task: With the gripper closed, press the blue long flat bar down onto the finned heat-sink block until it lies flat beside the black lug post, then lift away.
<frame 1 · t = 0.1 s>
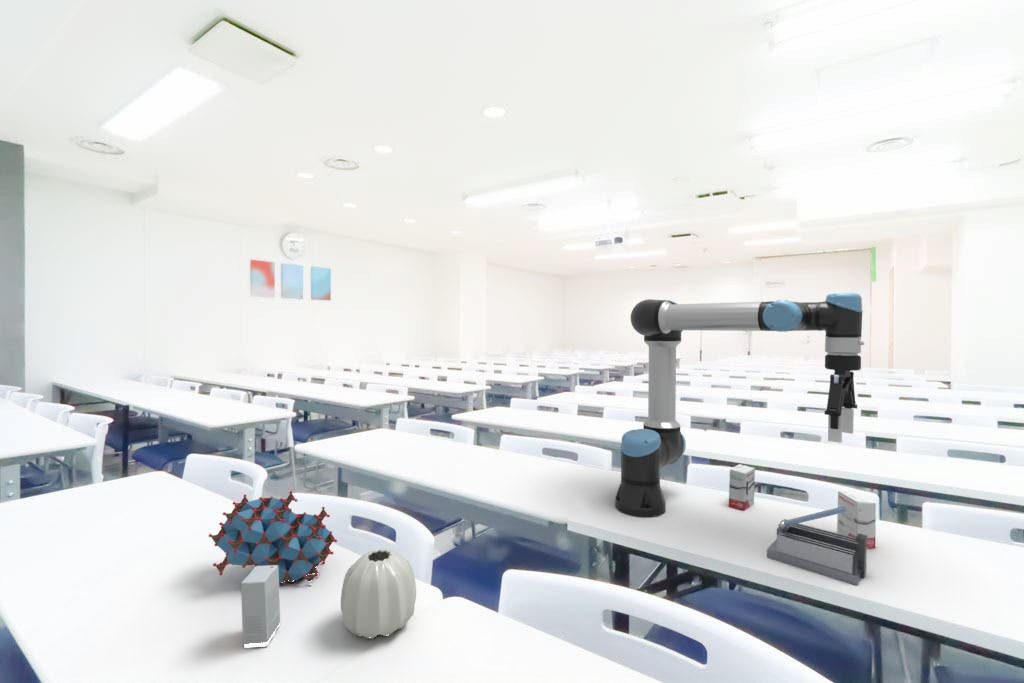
hand: (840, 437, 121), 28 cm above the table, fingers open, 13 cm apart
skincare box: (262, 638, 86), on the table
vase: (380, 625, 90), on the table
ink box 2: (741, 505, 149), on the table
ink box: (855, 541, 124), on the table
heatsink: (815, 561, 113), on the table
blue long flat bar: (811, 517, 114), point 10 cm above the table, hinge at 30.0°
molecule model: (276, 575, 108), on the table
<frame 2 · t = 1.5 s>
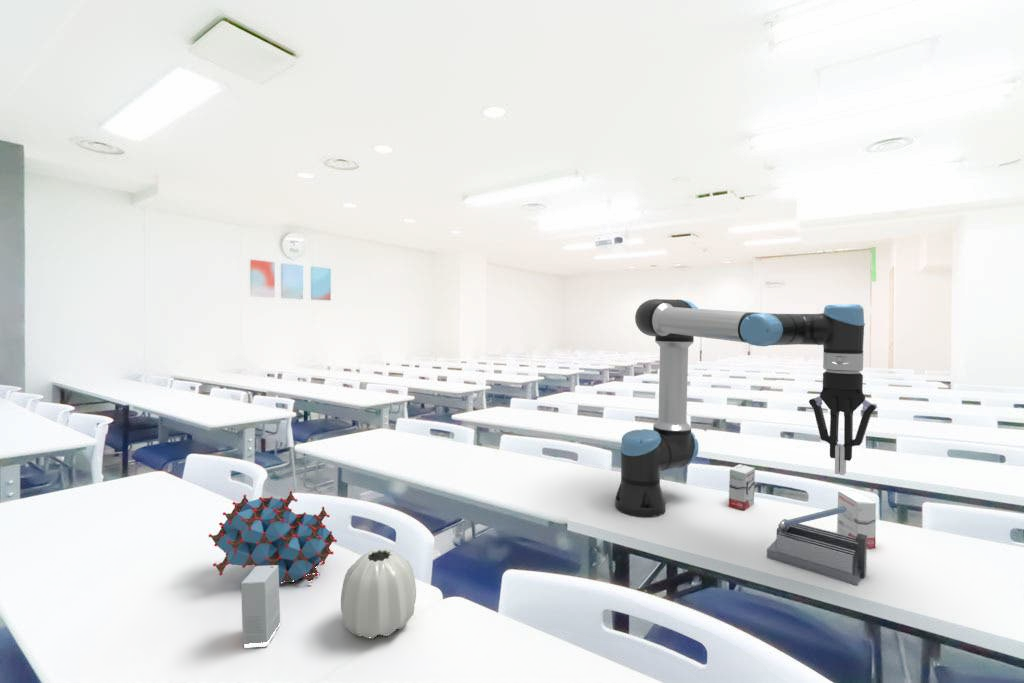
hand: (840, 473, 109), 22 cm above the table, fingers closed
nothing on the table moved.
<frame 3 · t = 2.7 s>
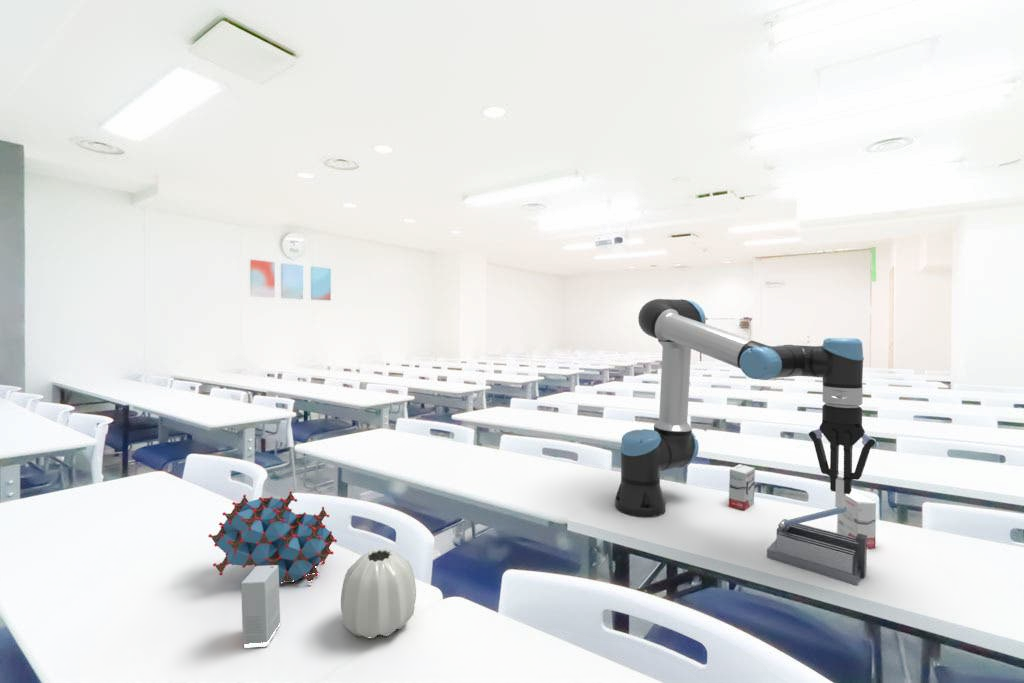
hand: (840, 506, 109), 15 cm above the table, fingers closed
blue long flat bar: (811, 517, 114), point 10 cm above the table, hinge at 29.8°, touching gripper
everything else where it was.
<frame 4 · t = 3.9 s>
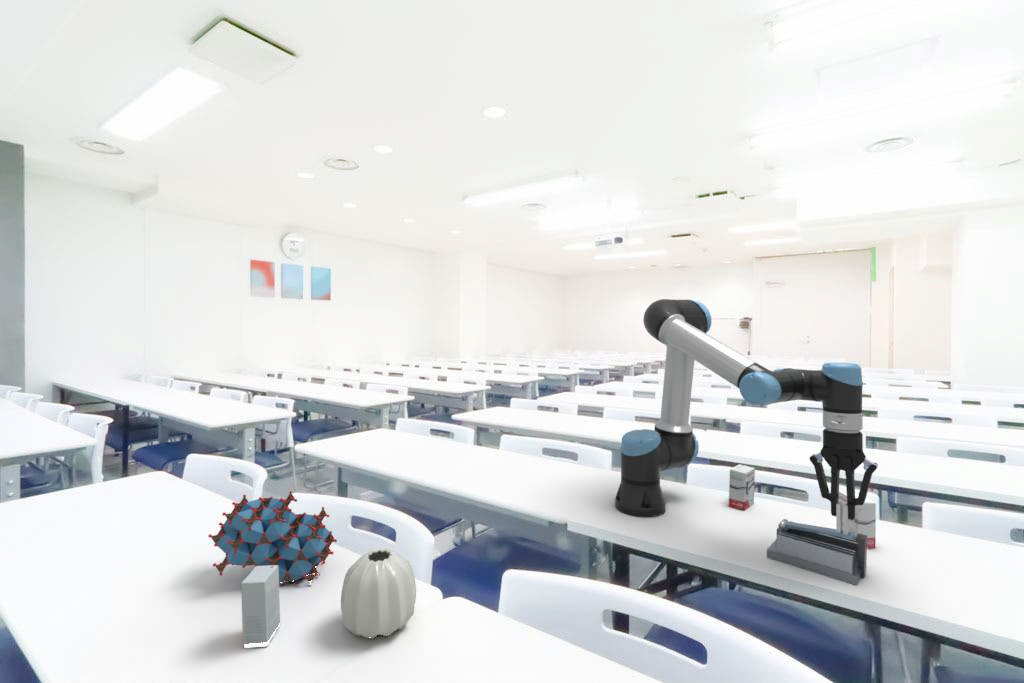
hand: (843, 531, 109), 9 cm above the table, fingers closed, pressing on blue long flat bar
blue long flat bar: (815, 529, 113), point 8 cm above the table, hinge at 6.1°, touching gripper
everything else where it was.
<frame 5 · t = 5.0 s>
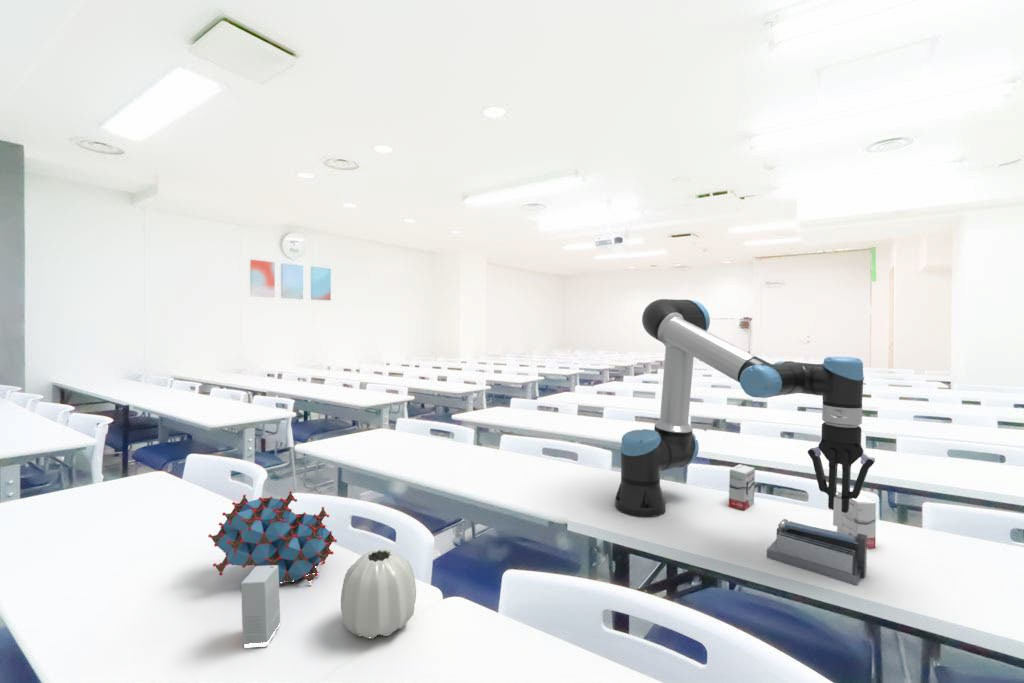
hand: (837, 524, 110), 10 cm above the table, fingers closed
blue long flat bar: (815, 530, 113), point 7 cm above the table, hinge at 3.0°
everything else where it was.
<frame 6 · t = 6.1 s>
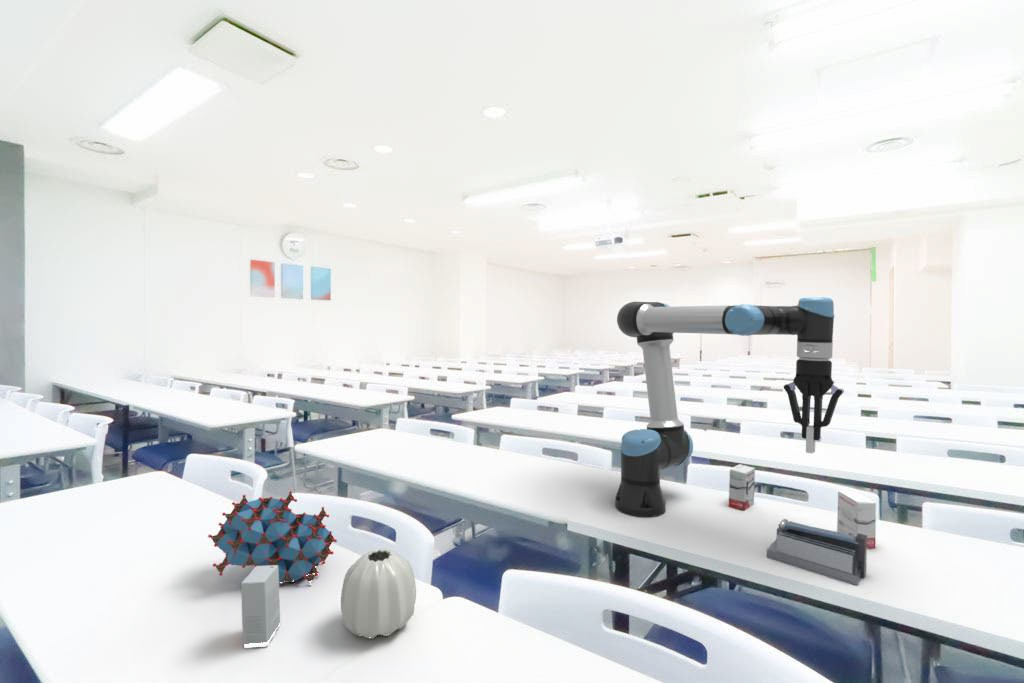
hand: (810, 451, 120), 25 cm above the table, fingers closed
nothing on the table moved.
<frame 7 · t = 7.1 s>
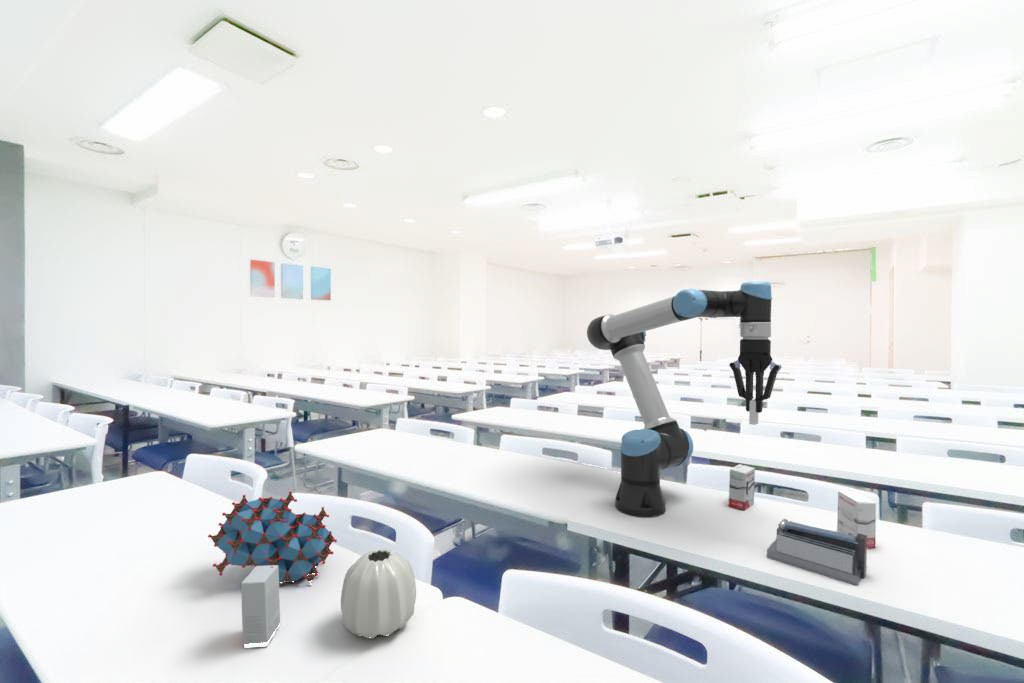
hand: (753, 423, 131), 29 cm above the table, fingers closed
nothing on the table moved.
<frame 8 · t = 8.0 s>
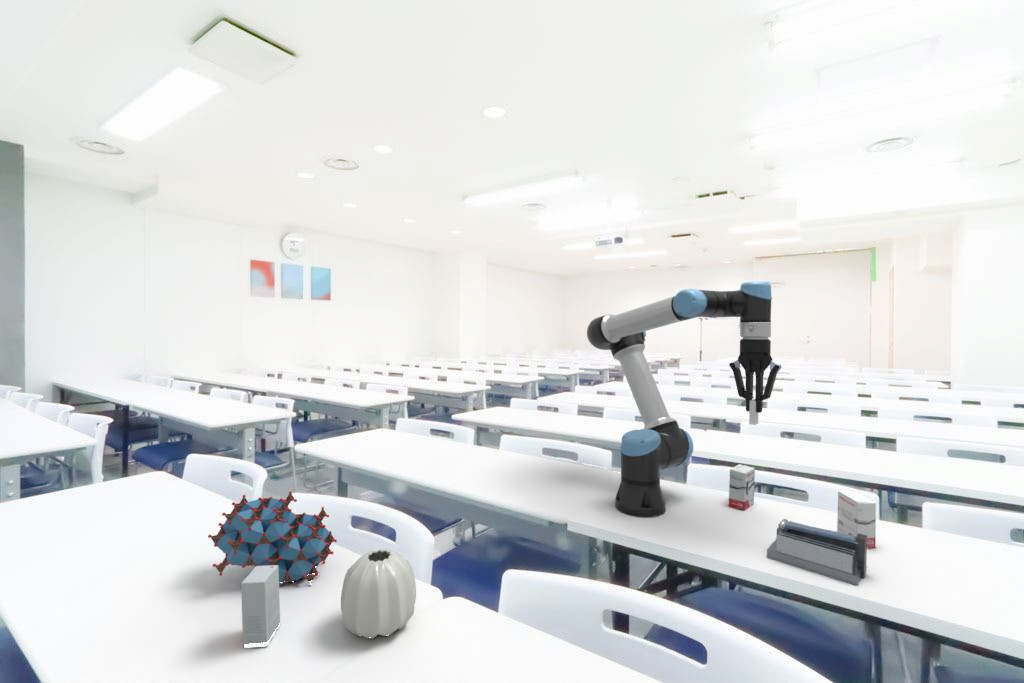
hand: (753, 423, 131), 29 cm above the table, fingers closed
nothing on the table moved.
at the end: blue long flat bar at +3° (first picture: +30°); blue long flat bar touching nothing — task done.
